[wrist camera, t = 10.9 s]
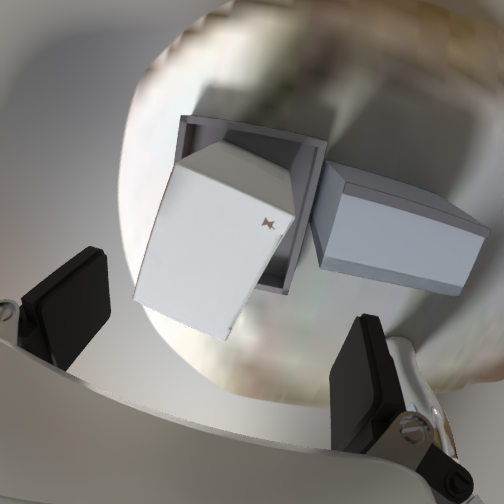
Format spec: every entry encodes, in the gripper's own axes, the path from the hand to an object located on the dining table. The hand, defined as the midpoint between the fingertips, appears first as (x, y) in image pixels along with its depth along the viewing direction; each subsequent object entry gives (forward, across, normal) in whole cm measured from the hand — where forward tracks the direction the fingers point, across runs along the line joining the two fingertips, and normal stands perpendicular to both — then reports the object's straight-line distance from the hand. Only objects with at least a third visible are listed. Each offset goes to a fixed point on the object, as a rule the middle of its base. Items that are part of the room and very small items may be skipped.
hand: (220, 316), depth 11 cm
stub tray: (+14, +2, 0) cm, 15 cm away
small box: (+14, +2, 0) cm, 14 cm away
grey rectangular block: (+15, -9, -2) cm, 17 cm away
